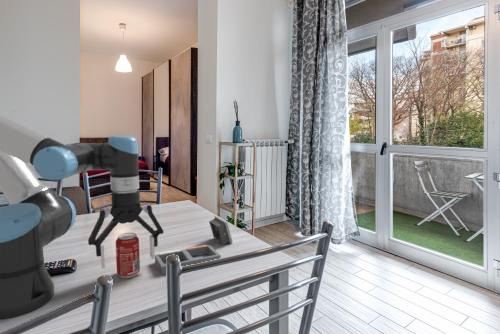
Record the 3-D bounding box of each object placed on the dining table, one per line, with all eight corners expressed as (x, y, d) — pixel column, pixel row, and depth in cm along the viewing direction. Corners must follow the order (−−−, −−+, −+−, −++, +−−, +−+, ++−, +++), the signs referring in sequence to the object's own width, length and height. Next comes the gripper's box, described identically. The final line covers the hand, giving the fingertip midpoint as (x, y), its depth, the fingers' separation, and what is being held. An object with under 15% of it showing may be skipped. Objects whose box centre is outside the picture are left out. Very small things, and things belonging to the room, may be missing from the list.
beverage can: (132, 267, 96) (131, 230, 94) (144, 274, 92) (143, 235, 90) (112, 274, 91) (111, 235, 89) (124, 282, 87) (122, 241, 86)
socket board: (161, 274, 91) (161, 265, 91) (155, 262, 100) (154, 253, 99) (220, 262, 100) (220, 254, 100) (210, 252, 109) (209, 244, 108)
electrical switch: (233, 243, 117) (231, 220, 115) (220, 247, 114) (218, 223, 112) (221, 236, 125) (219, 214, 123) (210, 239, 122) (207, 217, 120)
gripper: (75, 197, 79) (80, 276, 82) (172, 189, 91) (174, 258, 94) (75, 192, 86) (80, 265, 88) (166, 184, 97) (168, 249, 100)
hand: (128, 261), depth 91 cm, fingers open, 13 cm apart
